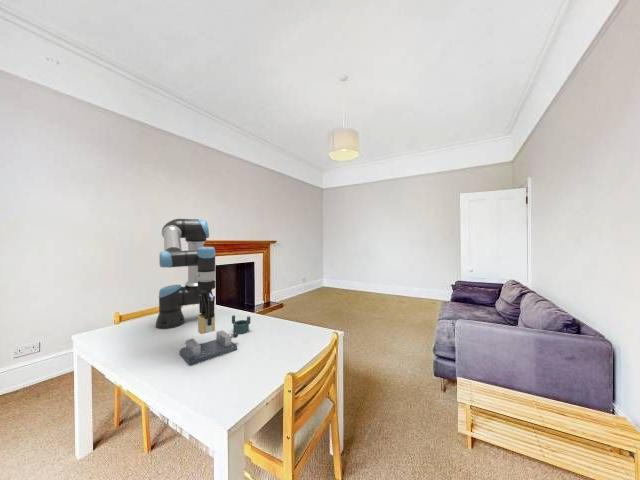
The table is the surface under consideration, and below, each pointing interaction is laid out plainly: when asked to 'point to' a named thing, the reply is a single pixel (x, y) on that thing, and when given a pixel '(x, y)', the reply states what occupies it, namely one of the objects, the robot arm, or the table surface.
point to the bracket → (240, 325)
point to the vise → (203, 351)
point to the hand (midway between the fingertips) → (206, 330)
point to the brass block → (202, 323)
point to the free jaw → (225, 338)
